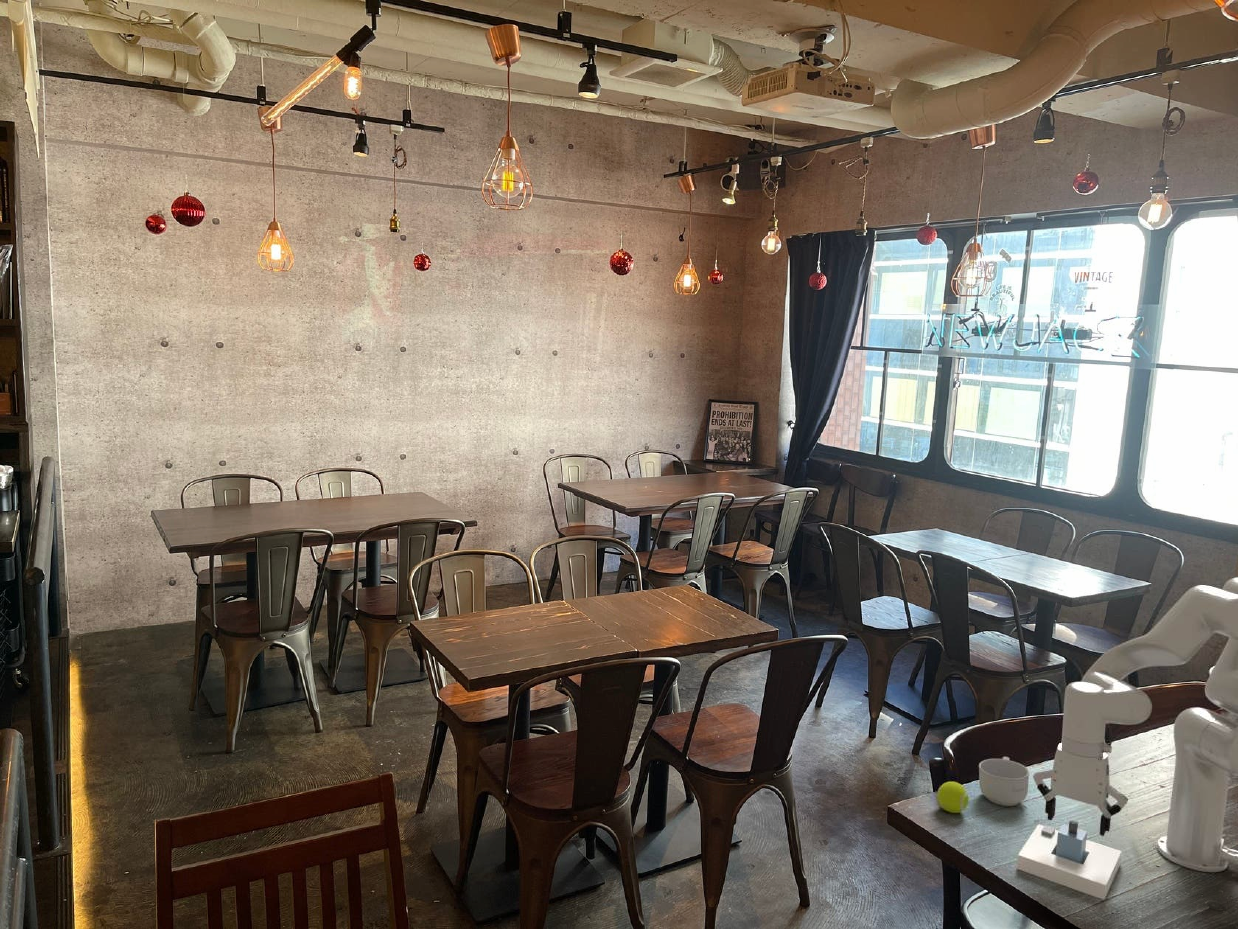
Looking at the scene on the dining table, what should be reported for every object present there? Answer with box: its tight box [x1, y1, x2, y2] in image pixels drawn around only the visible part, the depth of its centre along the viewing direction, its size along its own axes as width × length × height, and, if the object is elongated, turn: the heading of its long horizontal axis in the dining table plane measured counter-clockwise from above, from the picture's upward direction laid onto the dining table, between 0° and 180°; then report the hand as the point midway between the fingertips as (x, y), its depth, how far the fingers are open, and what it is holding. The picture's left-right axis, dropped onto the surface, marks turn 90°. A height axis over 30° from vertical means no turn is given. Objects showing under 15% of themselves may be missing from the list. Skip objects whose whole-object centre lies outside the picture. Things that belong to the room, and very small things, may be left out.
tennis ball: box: [936, 781, 970, 814], centre depth 208 cm, size 7×7×7 cm
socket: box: [1016, 824, 1122, 901], centre depth 187 cm, size 16×16×4 cm
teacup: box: [978, 756, 1030, 807], centre depth 215 cm, size 14×11×8 cm
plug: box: [1056, 820, 1088, 864], centre depth 186 cm, size 4×4×9 cm
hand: (1076, 825), depth 186 cm, fingers open, 9 cm apart
